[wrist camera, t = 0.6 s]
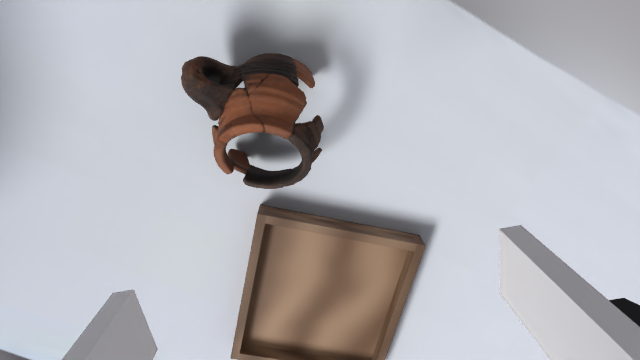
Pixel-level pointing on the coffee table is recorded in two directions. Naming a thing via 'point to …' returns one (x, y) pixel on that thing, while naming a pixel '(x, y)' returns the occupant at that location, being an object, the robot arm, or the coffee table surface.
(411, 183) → the coffee table surface
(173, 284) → the coffee table surface
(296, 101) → the pottery mug
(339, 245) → the walnut tray
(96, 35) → the coffee table surface
